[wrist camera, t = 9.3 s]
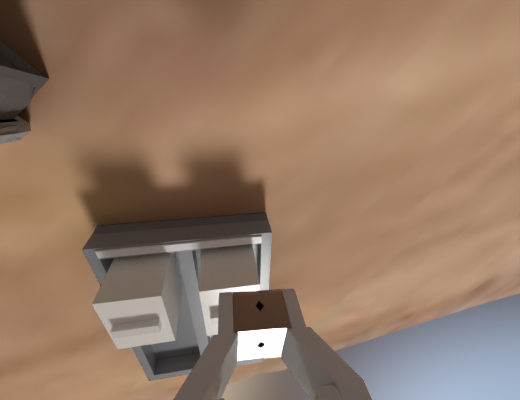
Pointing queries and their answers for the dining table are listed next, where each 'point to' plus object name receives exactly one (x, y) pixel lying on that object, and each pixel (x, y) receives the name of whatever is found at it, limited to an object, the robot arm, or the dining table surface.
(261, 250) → the switch board
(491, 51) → the dining table surface
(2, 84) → the electrical switch
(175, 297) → the white cube-shaped block
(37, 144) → the dining table surface
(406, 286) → the dining table surface
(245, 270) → the white sliding block
